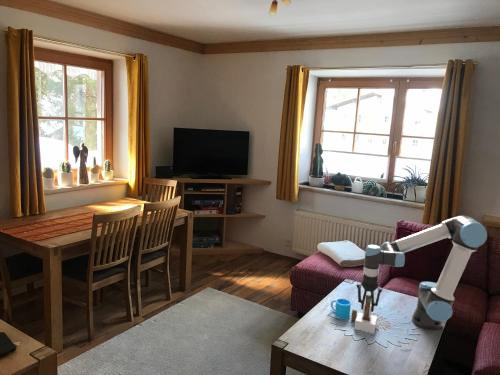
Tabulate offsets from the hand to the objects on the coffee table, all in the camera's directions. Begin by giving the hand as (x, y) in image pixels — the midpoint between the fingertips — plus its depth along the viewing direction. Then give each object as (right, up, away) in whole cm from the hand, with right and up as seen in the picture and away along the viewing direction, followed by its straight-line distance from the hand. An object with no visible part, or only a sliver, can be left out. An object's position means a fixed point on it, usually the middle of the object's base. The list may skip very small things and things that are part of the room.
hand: (366, 315), depth 214 cm
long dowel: (0, -3, +1) cm, 4 cm away
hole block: (0, -6, +1) cm, 7 cm away
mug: (-11, -4, +14) cm, 19 cm away
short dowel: (-5, -5, +8) cm, 10 cm away
